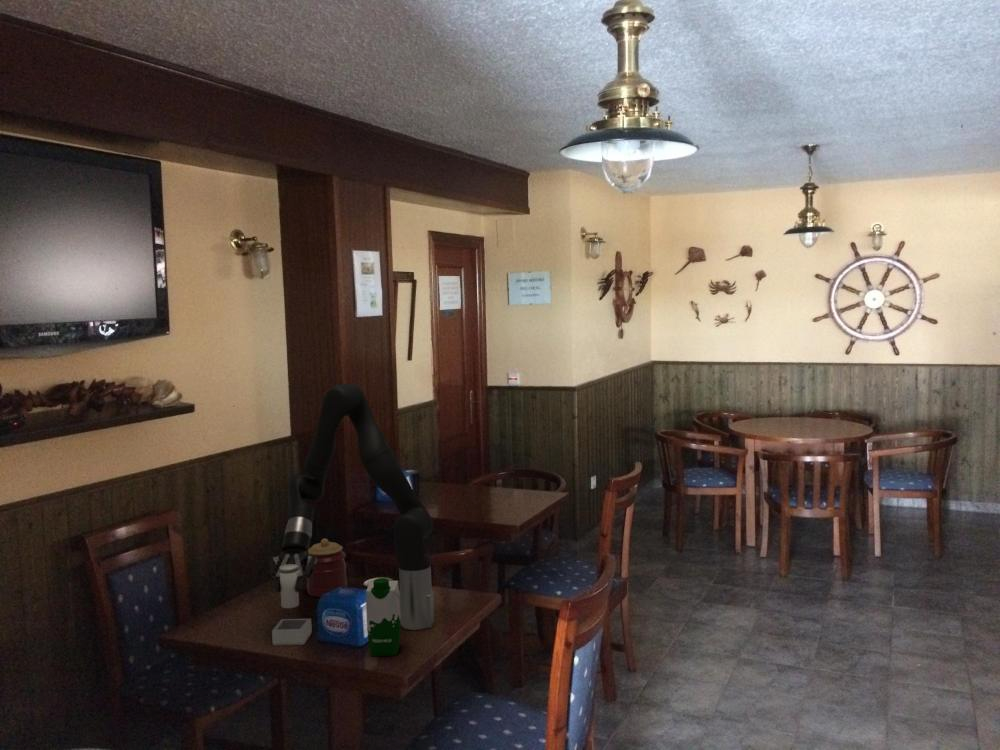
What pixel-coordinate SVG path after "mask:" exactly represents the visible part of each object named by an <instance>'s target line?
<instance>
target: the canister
mask: <svg viewBox="0 0 1000 750" xmlns="http://www.w3.org/2000/svg"><path fill="white" fill-rule="evenodd" d="M343 549H344V547H343V546H342V545H341V544H338V543H337V542H332V541H329V539H328V538H322V539H321V540H320V542H319V543H315V544H312V546H310V547H309V551H308V555H309V556H316V558H317V560H318V562H317V564H316V566H315V568H314V571H313V573H312V575H311V577H310V578H306V584H307V585H306V590H307V594H308V595H309V596H310V595H311V597H313V596H314V597H313V598H320V597H319V596H321V595H322V594H323V593H325V592H327V591H329V590H331V589H333V588H336V587H344V586H347V587H348V581H347V580H348V579H347V562H345V557H346V555H347V554H346V552H344V551H343ZM308 564H309V562H308V561H307V562H306V566H305V569H306V568H307V566H308ZM315 596H316V597H315Z"/></svg>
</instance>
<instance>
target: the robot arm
mask: <svg viewBox="0 0 1000 750" xmlns="http://www.w3.org/2000/svg"><path fill="white" fill-rule="evenodd" d="M319 414H320V415H319V417H318V424H317V428H316V431H315V436H314V439H313V441H312V444H311V445H310V446H311V447H310V449H309V451H308V453H307V456H306V458H305V461H304V462H303V469H304V471H305V472H306V473H307V474H309V476H308V475H305V474H300V473H299V474H295V475H294V476H292V478H291V479H290V481H289V484H288V495H289V496H288V497H289V504H290V506H289V507H290V508H289V509H290V510H289V514H288V519H287V520H288V521H287V524H286V527H285V529H284V536H283V541H282V547H281V552H280V553H279V555H278V556H273V555H270V556H269V557H268V563H269V564H268V565H269V574H270V576H271V578H272V579H275V581H274V585H273V587H274V590H275V591H276V593H281V589H280V572H279V569H278V570H277V567H276V566H277V565H278V562H279V561H280V563H281V564H280V565H279V567H280V566H282V565H286V564H295V565H297V574H298V577H297V580H296V585H295V591H296V592H298V593H300V591H302V589H303V585H304V580H305V579H307V578H310V577H311V575H312V573H313V571H314V568H315V566H316V564H317V562H318V560H317V558H316V556H309V555H308V554H309V553H308V551H309V548H310V544H311V538H312V535H313V534H312V533H313V521H314V517H315V508H314V505H312V504H311V503H309V502H312V503H317V502H319V501H320V500H322V498H323V496H324V494H325V483H326V476H327V471H328V469H329V466H330V464H331V462H332V459H333V456H334V454H335V449H336V441H335V440H336V432H337V429H338V427H339V426H340V423H341V421H342V420H343V419H344V418H345V417H347V416H348V418H349V420H350V423H352V426H353V427H354V429H355V432H356V436H357V443H358V454H359V459H360V462H361V464H362V467H363V468H364V469H365V471H366V473H367V475H368V477H369V478H370V480H371V482H372V483H373V484H374V485H376V486H377V488H379V490H381V491H382V493H384V494H385V495H386V496H388V497H389V499H390V500H391V501H392V502H393V503H394V506H395V507H396V509H397V511H398V512H399V515H400V516H398V518H396V520H395V521H394V525H393V543H394V546H393V547H394V554H395V558H396V560H397V562H398V577H399V578H398V579H399V580H398V586H399V592H400V612H401V628H403V629H405V630H410V631H411V630H413V631H417V630H418V631H419V630H425V629H428V628H433V624H434V622H435V608H434V607H435V605H434V603H435V601H434V589H433V588H432V566H431V556H430V555H429V554H428V553H426V551H425V539H427V538H429V536H431V534H432V532H433V528H434V523H433V519H432V516H431V514H430V513H429V512H428V510H427V508H426V507H425V506H424V504H423V503H422V501H421V500H420V498H419V497H418V495H417V494H416V493H415V490H414V489H413V488H412V486H411V484H410V481H408V478H407V477H406V475H405V473H404V471H403V469H402V468H401V466H400V464H399V462H398V460H397V458H396V456H395V453H394V452H393V450H392V449H391V447H390V446H389V444H388V442H387V440H386V438H385V435H383V433H382V431H381V428H380V427H379V425H378V423H377V421H376V418H375V417H374V415H373V412H372V410H371V407H370V405H369V403H368V400H367V398H366V396H365V394H364V392H363V390H362V389H361V387H359V386H358V385H357V384H355V383H352V382H348V383H347V382H345V383H343V384H339V385H334V386H332V387H330V388H329V389H328V390H327V391H326V392H325V395H324V397H323V401H322V405H321V409H320V413H319ZM310 475H311V476H312V477H311V476H310ZM307 501H308V502H307ZM307 561H308V562H309V564H308V566H307V565H306V567H307V568H306V567H305V571H304V568H303V566H304V565H305V563H306V564H307Z"/></svg>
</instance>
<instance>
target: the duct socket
mask: <svg viewBox="0 0 1000 750" xmlns="http://www.w3.org/2000/svg"><path fill="white" fill-rule="evenodd" d="M312 627H313V626H312V618H282V619H280V620H279V621H278V623H277V624H276V625H275V626H274V627H273V629H272V630H271V637H272V639H271V640H272V646H303V645H305V643H306V642H307V640H308V639H309V637H310V636H311V635H312V633H313V632H312V631H313V629H312Z"/></svg>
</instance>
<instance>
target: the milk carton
mask: <svg viewBox="0 0 1000 750" xmlns="http://www.w3.org/2000/svg"><path fill="white" fill-rule="evenodd" d="M365 604H366V605H365V607H366V627H367V628H366V630H367V641H368V646H369V653H370V654H369V655H370V657H385V656H386V657H388V656H390V657H391V656H397V655H398V652H399V649H400V645H401V635H402V625H401V607H400V586H399V580H389V579H388V578H385V577H384V578H383V577H382V578H379V577H378V578H376V579H374V580H373V581H370V582H369V584H368V585H367V589H366V591H365Z"/></svg>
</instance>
